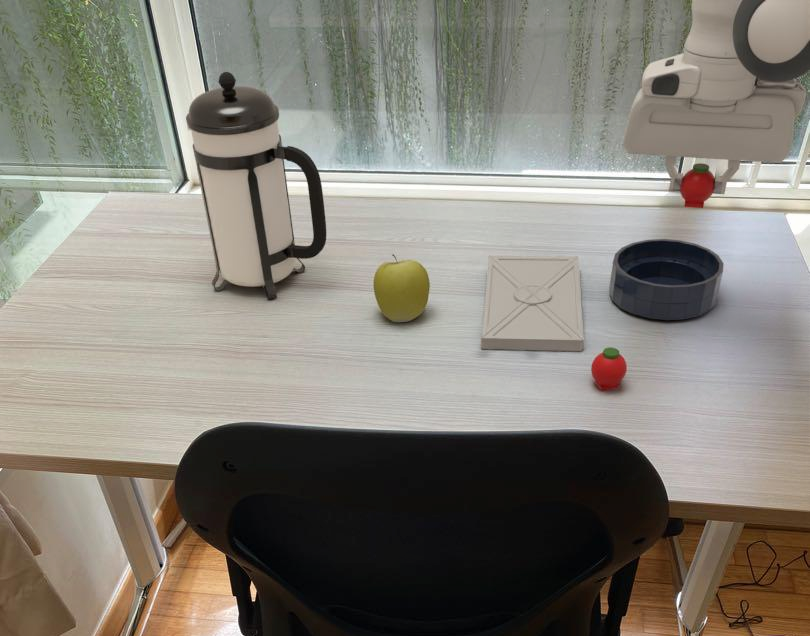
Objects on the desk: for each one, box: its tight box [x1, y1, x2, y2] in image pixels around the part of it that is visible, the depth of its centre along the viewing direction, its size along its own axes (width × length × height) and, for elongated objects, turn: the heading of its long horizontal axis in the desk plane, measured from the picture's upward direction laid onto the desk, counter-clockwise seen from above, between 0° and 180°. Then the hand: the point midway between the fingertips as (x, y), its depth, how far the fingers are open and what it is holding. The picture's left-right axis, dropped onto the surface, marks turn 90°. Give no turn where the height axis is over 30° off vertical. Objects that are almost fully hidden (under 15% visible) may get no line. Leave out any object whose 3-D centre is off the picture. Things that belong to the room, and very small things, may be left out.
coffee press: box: [185, 71, 327, 300], centre depth 128 cm, size 17×16×30 cm
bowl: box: [608, 238, 725, 321], centre depth 127 cm, size 15×15×6 cm
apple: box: [373, 254, 431, 323], centre depth 125 cm, size 8×8×10 cm
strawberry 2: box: [590, 347, 628, 392], centre depth 111 cm, size 4×4×5 cm
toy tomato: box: [679, 162, 715, 209], centre depth 113 cm, size 4×4×5 cm
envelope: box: [480, 255, 584, 352], centre depth 127 cm, size 24×2×14 cm
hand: (696, 190), depth 114 cm, fingers closed on toy tomato, 4 cm apart
